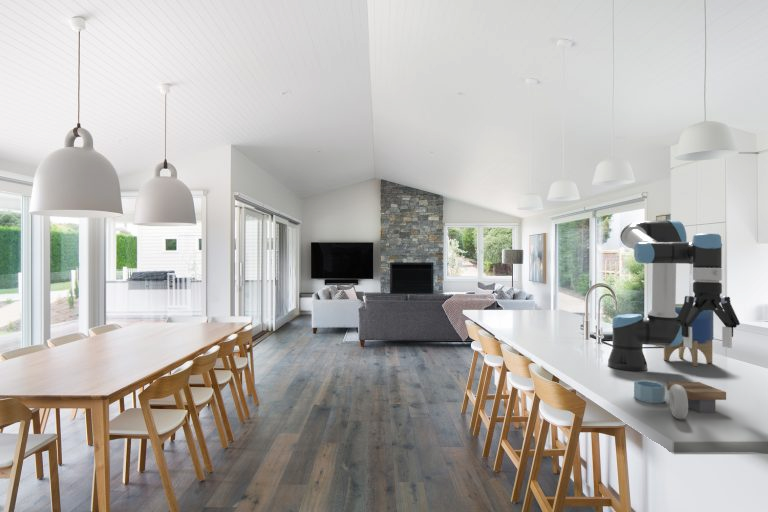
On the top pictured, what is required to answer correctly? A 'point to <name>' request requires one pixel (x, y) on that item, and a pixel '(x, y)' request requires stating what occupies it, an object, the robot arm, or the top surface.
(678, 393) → the donut
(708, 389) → the board
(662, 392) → the bowl
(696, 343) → the planter
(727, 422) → the top surface
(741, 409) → the top surface
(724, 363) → the top surface
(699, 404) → the block
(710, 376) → the top surface
